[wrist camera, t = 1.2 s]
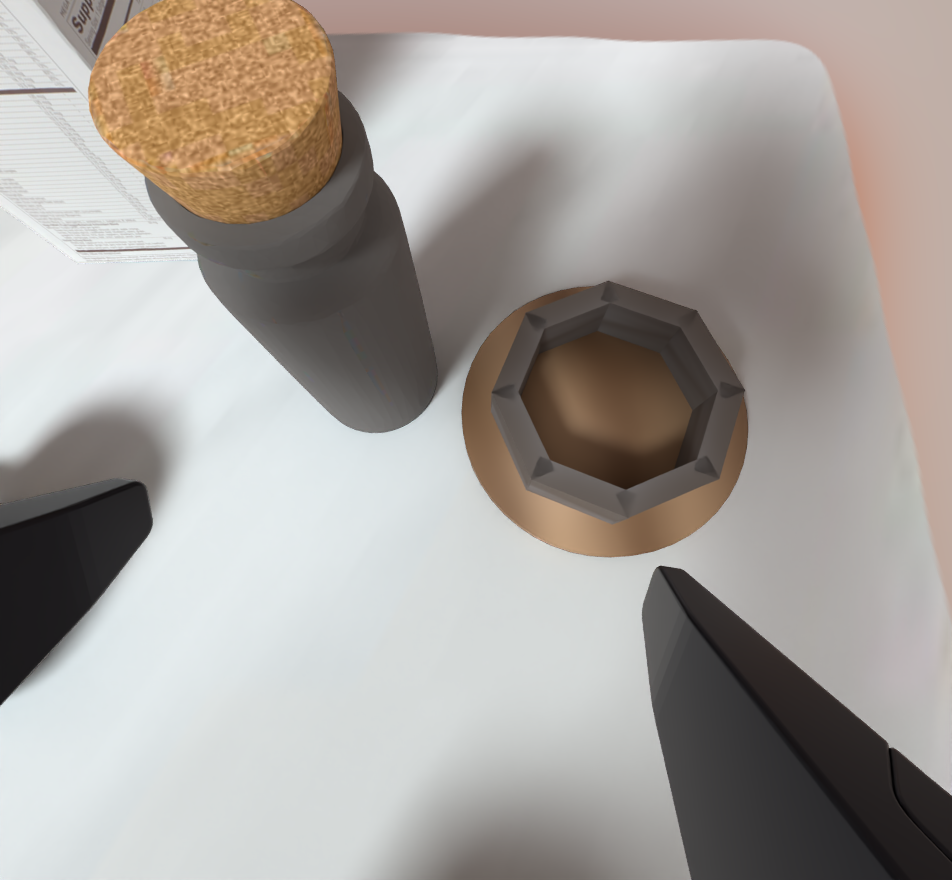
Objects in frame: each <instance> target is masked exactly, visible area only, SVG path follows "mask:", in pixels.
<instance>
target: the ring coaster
mask: <svg viewBox="0 0 952 880" xmlns="http://www.w3.org/2000/svg"><path fill="white" fill-rule="evenodd" d="M744 392H745V389H744V388H743V386H742V385H741V383H740V381H739V380H738V378H737V376H736V374H735V372H734V370H733V369H732V367H731V365H730V363H729V361H728V359H727V358H726V356H725V355H724V354H723V352H722V351H721V349H720V348H719V346H718V345H717V344H716V342H715V340H714V339H713V337H712V335H711V334H710V332H709V330H708V329H707V327H706V325H705V324H704V322H703V320H702V319H701V317H700V316H699V314H698V312H697V311H696V310H693V309H690V308H687V307H684V306H681V305H678V304H675V303H672V302H669V301H666V300H663V299H660V298H657V297H655V296H652V295H649V294H646V293H643V292H640V291H637V290H634V289H631V288H628V287H625V286H622V285H619V284H616V283H613V282H610V281H607V282H604V283H602V284H599V285H596V286H591V287H577V288H571V289H566V290H561V291H557V292H554V293H551V294H548V295H545V296H542V297H540V298H538V299H536V300H533V301H531V302H529V303H527V304H526V305H524V306H522V307H521V308H519V309H518V310H516V311H514V312H513V313H512V314H511V315H509V316H508V317H507V318H506V319H504V320H503V321H502V322H501V323H500V324H499V325H498V326H497V327H496V328H495V329H494V330H493V331H492V332H491V333H490V335H489V336H488V337H487V339H486V340H485V342H484V343H483V344H482V346H481V347H480V349H479V351H478V353H477V355H476V356H475V358H474V360H473V362H472V365H471V367H470V370H469V373H468V376H467V378H466V383H465V388H464V392H463V401H462V426H463V434H464V439H465V444H466V449H467V453H468V456H469V459H470V462H471V465H472V468H473V470H474V472H475V474H476V476H477V478H478V480H479V482H480V484H481V485H482V487H483V488H484V490H485V491H486V493H487V494H488V496H489V497H490V499H491V500H492V501H493V502H494V503H495V505H496V506H497V507H498V508H499V509H500V510H501V511H502V512H503V514H504V515H506V516H507V517H508V518H509V519H510V520H511V521H513V522H514V523H515V524H516V525H517V526H518V527H520V528H521V529H523V530H524V531H526V532H527V533H529V534H530V535H532V536H533V537H535V538H537V539H539V540H541V541H543V542H545V543H547V544H549V545H551V546H554V547H557V548H560V549H563V550H566V551H569V552H572V553H577V554H582V555H587V556H597V557H621V556H633V555H638V554H643V553H648V552H653V551H656V550H659V549H662V548H664V547H667V546H670V545H672V544H674V543H676V542H678V541H680V540H682V539H684V538H686V537H688V536H689V535H691V534H692V533H693V532H695V531H696V530H698V529H699V528H700V527H702V526H703V525H704V524H705V523H706V522H707V521H708V520H709V519H710V518H711V517H712V516H713V515H715V514H716V513H717V512H718V510H719V509H720V508H721V506H722V505H723V504H724V502H725V501H726V500H727V498H728V497H729V495H730V493H731V491H732V490H733V488H734V486H735V484H736V482H737V480H738V477H739V475H740V472H741V469H742V466H743V463H744V459H745V454H746V449H747V438H748V422H747V410H746V406H745V401H744V397H743V395H744Z"/></svg>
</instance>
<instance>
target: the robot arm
mask: <svg viewBox="0 0 952 880" xmlns="http://www.w3.org/2000/svg"><path fill="white" fill-rule="evenodd" d="M152 525H153V518H152V513H151V507H150V502H149V497H148V491H147V488H146V486H145V485H144V484H143V483H142V482H140V481H136V480H130V479H124V478H115V479H110V480H106V481H102V482H97V483H93V484H88V485H84V486H80V487H75V488H71V489H67V490H62V491H58V492H53V493H49V494H45V495H40V496H36V497H32V498H27V499H23V500H18V501H14V502H10V503H5V504H1V505H0V706H1V705H2V704H3V703H4V702H5V700H6V699H7V698H8V697H9V696H10V695H11V694H12V693H13V692H14V691H15V690H16V689H17V688H18V686H19V685H20V684H21V683H22V682H23V681H24V680H25V679H26V678H27V677H28V676H29V675H30V674H31V673H32V671H33V670H34V669H35V668H36V667H37V666H38V665H39V664H40V663H41V662H42V661H43V660H44V659H45V657H46V656H47V655H48V654H49V653H50V652H51V651H52V650H53V649H54V648H55V647H56V646H57V645H58V644H59V642H60V641H61V640H62V639H63V638H64V637H65V636H66V635H67V634H68V633H69V632H70V631H71V630H72V628H73V627H74V626H75V625H76V624H77V623H78V622H79V621H80V620H81V619H82V618H83V617H84V615H85V614H86V613H87V612H88V611H89V610H90V609H91V608H92V606H93V605H94V604H95V603H96V602H97V600H98V599H99V598H100V597H101V595H102V594H103V593H104V592H105V590H106V589H107V588H108V587H109V585H110V584H111V583H112V581H113V580H114V579H115V578H116V576H117V575H118V574H119V572H120V571H121V570H122V569H123V567H124V566H125V565H126V563H127V562H128V561H129V560H130V558H131V557H132V556H133V554H134V553H135V552H136V551H137V549H138V548H139V547H140V545H141V544H142V543H143V542H144V540H145V539H146V538H147V536H148V535H149V533H150V531H151V529H152ZM642 622H643V630H644V639H645V648H646V657H647V666H648V675H649V684H650V692H651V699H652V707H653V712H654V717H655V722H656V726H657V730H658V735H659V739H660V744H661V748H662V752H663V757H664V761H665V766H666V770H667V774H668V779H669V783H670V788H671V792H672V796H673V801H674V805H675V810H676V814H677V818H678V823H679V827H680V832H681V836H682V840H683V845H684V849H685V854H686V858H687V862H688V867H689V871H690V875H691V880H952V796H951V795H950V794H949V793H948V792H946V791H945V790H944V789H943V788H942V787H940V786H939V785H938V784H937V783H936V782H934V781H933V780H932V779H931V778H929V777H928V776H927V775H926V774H925V773H924V772H922V771H921V770H920V769H919V768H918V767H916V766H915V765H914V764H913V763H912V762H911V761H909V760H908V759H907V758H906V757H905V756H904V755H902V754H901V753H900V752H899V751H898V750H896V749H895V748H889V745H888V743H887V741H886V740H884V739H883V738H882V737H881V736H880V735H878V734H877V733H876V732H875V731H874V730H873V729H871V728H870V727H869V726H868V725H867V724H865V723H864V722H863V721H862V720H861V719H859V718H858V717H857V716H856V715H855V714H854V713H852V712H851V711H850V710H849V709H848V708H846V707H845V706H844V705H843V704H842V703H841V702H839V701H838V700H837V699H836V698H835V697H833V696H832V695H831V694H830V693H829V692H828V691H826V690H825V689H824V688H823V687H822V686H820V685H819V684H818V683H817V682H816V681H815V680H813V679H812V678H811V677H810V676H809V675H807V674H806V673H805V672H804V671H803V670H801V669H800V668H799V667H798V666H797V665H796V664H794V663H793V662H792V661H791V660H790V659H788V658H787V657H786V656H785V655H784V654H783V653H781V652H780V651H779V650H778V649H777V648H775V647H774V646H773V645H772V644H771V643H770V642H768V641H767V640H766V639H765V638H764V637H762V636H761V635H760V634H759V633H758V632H756V631H755V630H754V629H753V628H752V627H751V626H749V625H748V624H747V623H746V622H745V621H743V620H742V619H741V618H740V617H739V616H738V615H736V614H735V613H734V612H733V611H732V610H730V609H729V608H728V607H727V606H726V605H725V604H723V603H722V602H721V601H720V600H719V599H717V598H716V597H715V596H714V595H713V594H711V593H710V592H709V591H708V590H707V589H706V588H704V587H703V586H702V585H701V584H700V583H698V582H697V581H696V580H695V579H694V578H693V577H691V576H690V575H689V574H688V573H687V572H685V571H684V570H682V569H678V568H672V567H665V566H659V567H657V568H656V569H655V571H654V573H653V575H652V578H651V581H650V584H649V587H648V590H647V594H646V597H645V600H644V603H643V608H642Z"/></svg>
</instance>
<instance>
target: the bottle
mask: <svg viewBox="0 0 952 880" xmlns="http://www.w3.org/2000/svg"><path fill="white" fill-rule="evenodd" d="M88 100H89V111H90V114H91V116H92V119H93V122H94V125H95V127H96V129H97V131H98V132H99V134H100V136H101V137H102V139H103V140H104V141H105V142H106V143H107V144H108V145H109V147H110V148H111V149H112V150H113V151H114V152H116V153H117V154H118V155H119V156H120V157H121V158H123V159H124V160H125V161H126V162H128V163H129V164H130V165H132V166H133V167H134V168H135V169H137V170H138V171H139V172H140V173H142V174H143V175H144V177H145V185H146V189H147V192H148V196H149V199H150V201H151V202H152V204H153V206H154V208H155V210H156V211H157V213H158V214H159V215H160V217H161V218H162V219H163V220H164V222H165V223H166V224H167V226H168V227H169V228H170V229H171V230H172V231H173V232H174V233H175V234H176V235H177V236H178V237H179V238H180V239H181V240H182V241H183V242H184V243H185V244H186V245H187V246H188V247H189V248H190V249H192V250H193V251H194V252H196V253H197V258H198V264H199V268H200V270H201V272H202V275H203V277H204V279H205V282H206V283H207V285H208V286H209V288H210V289H211V291H212V292H213V293H214V294H215V296H216V297H217V298H218V299H219V300H220V302H221V303H222V304H223V305H224V306H225V307H226V308H227V309H228V311H229V312H230V313H231V314H232V315H233V316H234V317H235V318H236V319H237V320H238V321H239V322H240V323H241V324H242V325H243V326H244V327H245V328H246V329H247V330H248V331H249V332H250V333H251V334H252V335H253V336H254V337H255V338H256V339H257V340H258V341H259V342H260V344H261V345H262V346H263V347H264V348H265V349H266V350H267V351H268V352H269V353H270V354H271V355H272V356H273V357H274V358H275V359H276V360H277V361H278V362H279V363H280V364H281V365H282V366H283V367H284V368H285V369H286V370H287V371H288V372H289V373H290V374H291V375H292V376H293V377H294V378H295V379H296V380H297V381H298V382H299V383H300V384H301V385H302V386H303V387H304V388H305V389H306V390H307V391H308V392H309V393H310V394H311V395H312V396H313V397H314V398H315V399H316V400H317V401H318V402H319V403H320V404H321V405H322V406H323V407H324V408H325V409H326V410H327V411H328V412H329V413H330V414H331V415H333V416H334V417H335V418H336V419H337V420H339V421H340V422H341V423H343V424H344V425H346V426H348V427H350V428H353V429H355V430H359V431H363V432H368V433H382V432H388V431H392V430H395V429H398V428H401V427H403V426H405V425H407V424H409V423H410V422H411V421H413V420H414V419H415V418H417V417H418V416H419V415H420V414H421V413H422V412H423V411H424V409H425V408H426V407H427V405H428V404H429V402H430V400H431V399H432V397H433V394H434V391H435V388H436V383H437V365H436V359H435V354H434V349H433V345H432V341H431V336H430V332H429V327H428V323H427V319H426V314H425V310H424V305H423V301H422V297H421V293H420V289H419V285H418V281H417V277H416V273H415V268H414V264H413V260H412V256H411V252H410V248H409V244H408V240H407V236H406V232H405V228H404V225H403V221H402V217H401V214H400V210H399V207H398V205H397V202H396V200H395V197H394V195H393V194H392V192H391V190H390V188H389V187H388V186H387V184H386V183H385V182H384V180H383V179H382V178H381V177H380V176H379V175H378V174H377V173H376V172H374V168H373V159H372V154H371V149H370V145H369V142H368V139H367V135H366V132H365V129H364V126H363V123H362V121H361V119H360V117H359V114H358V113H357V111H356V110H355V108H354V107H353V105H352V104H351V102H350V101H349V100H348V99H347V98H346V97H345V96H344V95H343V94H342V93H341V92H339V91H338V90H337V80H336V70H335V59H334V53H333V49H332V46H331V44H330V41H329V39H328V37H327V35H326V33H325V31H324V29H323V28H322V27H321V25H320V24H319V23H318V22H317V20H316V19H315V18H314V17H313V16H312V14H311V13H309V12H308V11H307V10H306V9H305V8H304V7H302V6H301V5H299V4H297V3H296V2H294V1H292V0H162V1H160V2H158V3H156V4H154V5H152V6H150V7H149V8H147V9H145V10H143V11H142V12H140V13H138V14H136V15H135V16H134V17H133V18H132V19H130V20H129V21H128V22H127V23H126V24H124V25H123V26H122V27H121V28H120V29H119V30H118V31H117V33H116V34H115V35H114V36H113V37H112V38H111V39H110V40H109V41H108V42H107V44H106V45H105V46H104V48H103V50H102V52H101V53H100V55H99V57H98V58H97V60H96V62H95V65H94V67H93V70H92V72H91V75H90V81H89V87H88Z"/></svg>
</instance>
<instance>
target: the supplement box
mask: <svg viewBox="0 0 952 880" xmlns="http://www.w3.org/2000/svg"><path fill="white" fill-rule="evenodd" d="M160 1H162V0H0V207H1V208H2V209H4V210H5V211H6V212H8V213H9V214H10V215H12V216H13V217H14V218H16V219H17V220H19V221H20V222H21V223H23V224H24V225H25V226H27V227H28V228H29V229H31V230H32V231H33V232H35V233H36V234H37V235H39V236H40V237H41V238H43V239H44V240H45V241H47V242H48V243H49V244H51V245H52V246H53V247H55V248H56V249H57V250H59V251H60V252H61V253H63V254H64V255H66V256H67V257H68V258H70V259H71V260H73V261H74V262H75V263H77V264H87V263H114V262H144V261H173V260H198V258H197V253H196V252H194V251H193V250H192V249H190V248H189V247H188V246H187V245H186V244H185V243H184V242H183V241H182V240H181V239H180V238H179V237H178V236H177V235H176V234H175V233H174V232H173V231H172V230H171V229H170V228H169V227H168V226H167V224H166V223H165V222H164V220H163V219H162V218H161V217H160V215H159V214H158V213H157V211H156V210H155V208H154V206H153V204H152V202H151V201H150V199H149V196H148V192H147V189H146V185H145V177H144V175H143V174H142V173H140V172H139V171H138V170H137V169H135V168H134V167H133V166H132V165H130V164H129V163H128V162H126V161H125V160H124V159H123V158H121V157H120V156H119V155H118V154H117V153H116V152H114V151H113V150H112V149H111V148H110V147H109V145H108V144H107V143H106V142H105V141H104V140H103V139H102V137H101V136H100V134H99V132H98V131H97V129H96V127H95V125H94V122H93V119H92V116H91V114H90V111H89V100H88V87H89V81H90V75H91V72H92V70H93V67H94V65H95V62H96V60H97V58H98V57H99V55H100V53H101V52H102V50H103V48H104V46H105V45H106V44H107V42H108V41H109V40H110V39H111V38H112V37H113V36H114V35H115V34H116V33H117V31H118V30H119V29H120V28H121V27H122V26H123V25H124V24H126V23H127V22H128V21H129V20H130V19H132V18H133V17H134V16H135V15H136V14H138V13H140V12H142V11H143V10H145V9H147V8H149V7H150V6H152V5H154V4H156V3H158V2H160Z"/></svg>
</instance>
